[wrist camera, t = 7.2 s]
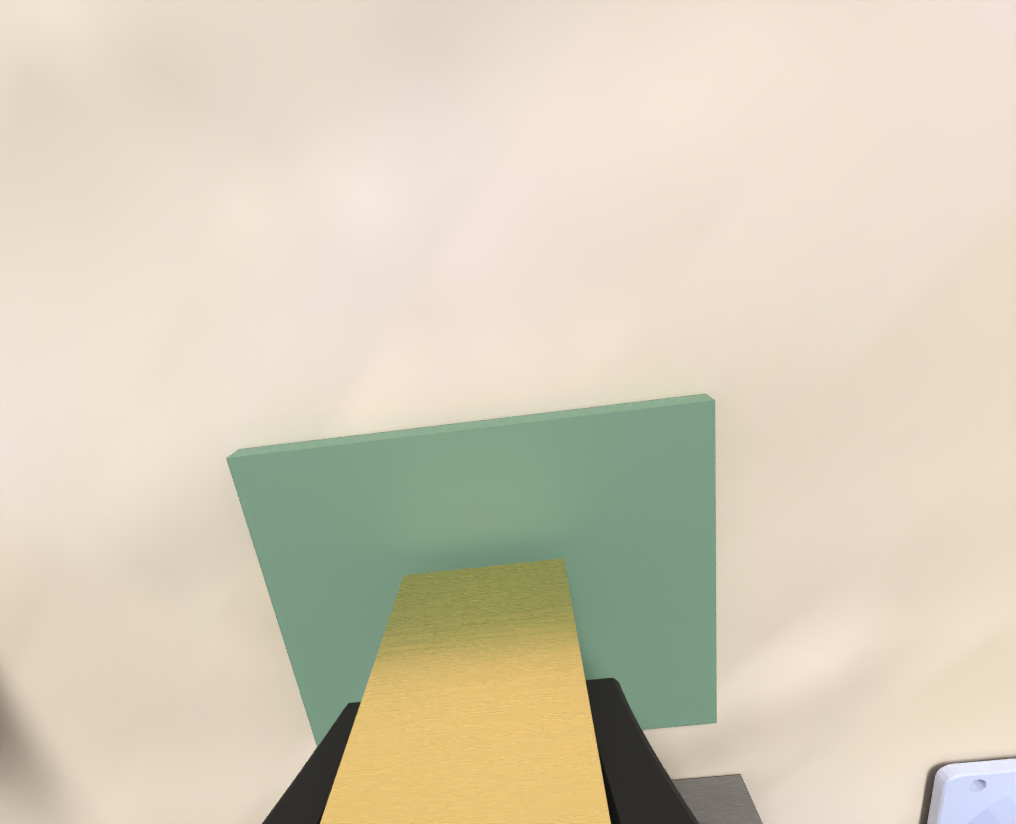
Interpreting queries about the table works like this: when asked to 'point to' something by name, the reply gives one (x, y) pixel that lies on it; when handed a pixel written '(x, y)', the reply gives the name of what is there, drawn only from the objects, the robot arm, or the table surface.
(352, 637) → the mat
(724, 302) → the table surface
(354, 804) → the brass peg
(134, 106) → the table surface
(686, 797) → the grey slotted block
